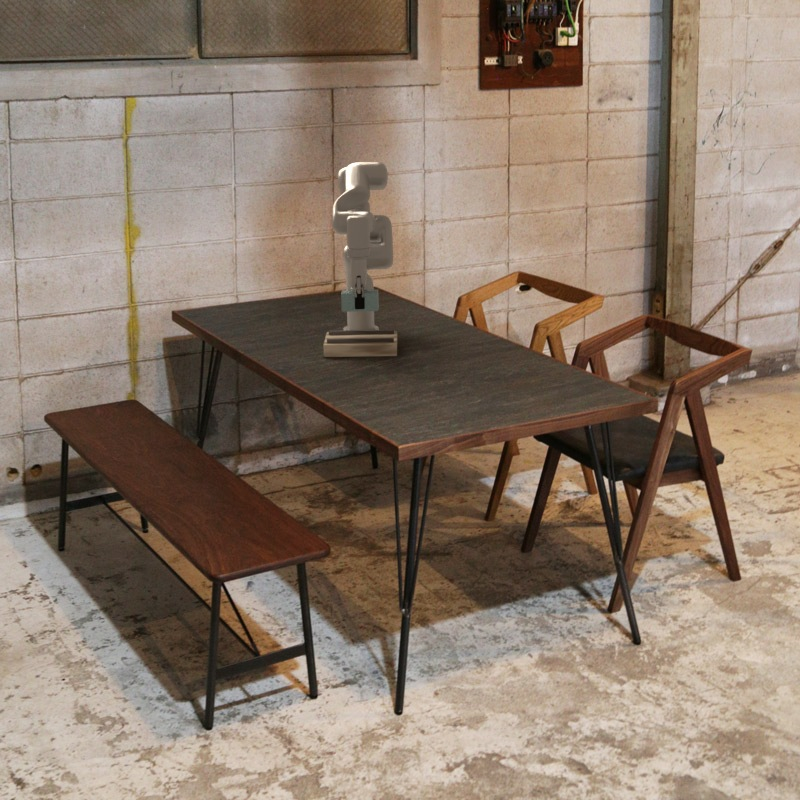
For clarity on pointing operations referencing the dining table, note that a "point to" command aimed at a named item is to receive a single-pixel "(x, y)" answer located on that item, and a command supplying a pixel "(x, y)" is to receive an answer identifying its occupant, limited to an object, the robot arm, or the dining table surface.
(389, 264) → the robot arm
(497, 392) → the dining table surface
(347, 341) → the stand
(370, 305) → the housing
